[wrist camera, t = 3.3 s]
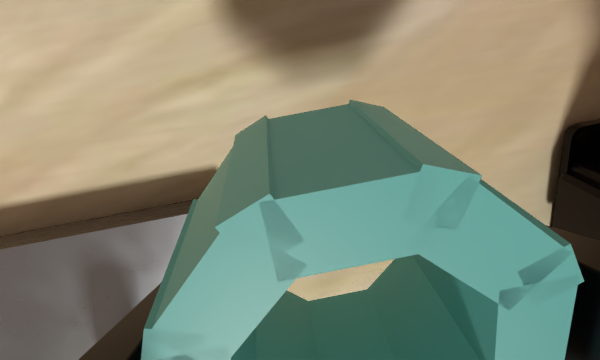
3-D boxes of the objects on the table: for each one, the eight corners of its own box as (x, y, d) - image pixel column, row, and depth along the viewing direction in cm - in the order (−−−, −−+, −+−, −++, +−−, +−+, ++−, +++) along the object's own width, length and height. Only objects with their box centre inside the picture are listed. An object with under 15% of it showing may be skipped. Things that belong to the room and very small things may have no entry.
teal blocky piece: (454, 80, 8) (612, 127, 4) (453, 307, 11) (552, 454, 7) (158, 135, 8) (72, 231, 4) (231, 352, 11) (215, 525, 7)
